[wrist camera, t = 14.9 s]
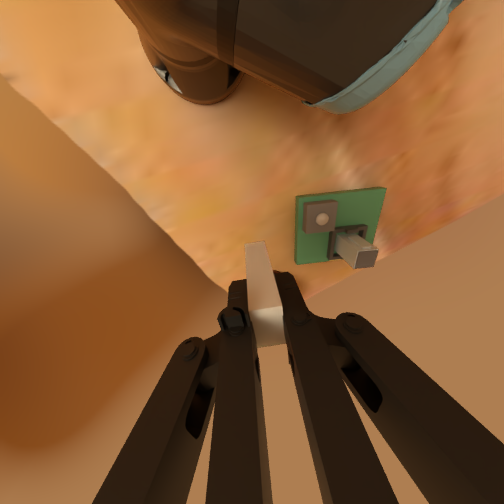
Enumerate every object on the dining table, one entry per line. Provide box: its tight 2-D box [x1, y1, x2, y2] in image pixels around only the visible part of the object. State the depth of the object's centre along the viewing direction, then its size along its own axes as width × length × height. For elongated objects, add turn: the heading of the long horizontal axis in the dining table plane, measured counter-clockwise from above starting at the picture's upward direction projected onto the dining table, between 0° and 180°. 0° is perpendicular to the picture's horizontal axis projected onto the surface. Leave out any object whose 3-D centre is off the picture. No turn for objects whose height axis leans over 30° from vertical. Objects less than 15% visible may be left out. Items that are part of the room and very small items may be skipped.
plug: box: [334, 233, 379, 269], centre depth 38 cm, size 4×4×8 cm
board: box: [294, 187, 387, 265], centre depth 39 cm, size 16×18×5 cm
